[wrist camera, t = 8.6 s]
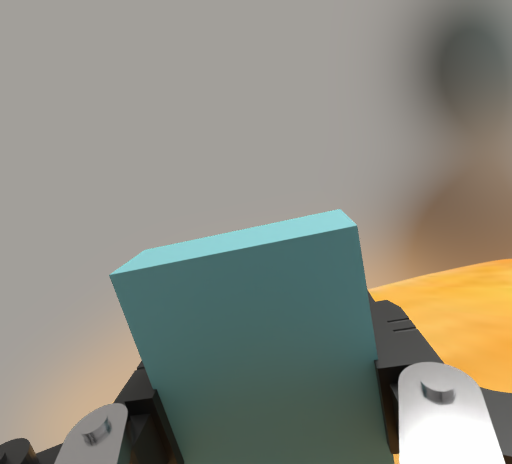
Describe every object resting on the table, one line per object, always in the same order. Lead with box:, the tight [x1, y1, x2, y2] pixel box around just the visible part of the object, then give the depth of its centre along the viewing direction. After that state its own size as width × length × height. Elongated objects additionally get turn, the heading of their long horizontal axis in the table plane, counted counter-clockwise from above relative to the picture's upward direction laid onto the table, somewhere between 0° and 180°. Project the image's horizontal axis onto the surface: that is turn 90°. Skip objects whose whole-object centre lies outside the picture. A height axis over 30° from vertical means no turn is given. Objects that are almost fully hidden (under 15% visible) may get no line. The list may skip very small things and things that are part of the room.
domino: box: [109, 209, 394, 464], centre depth 8 cm, size 2×5×10 cm, turn 85°
